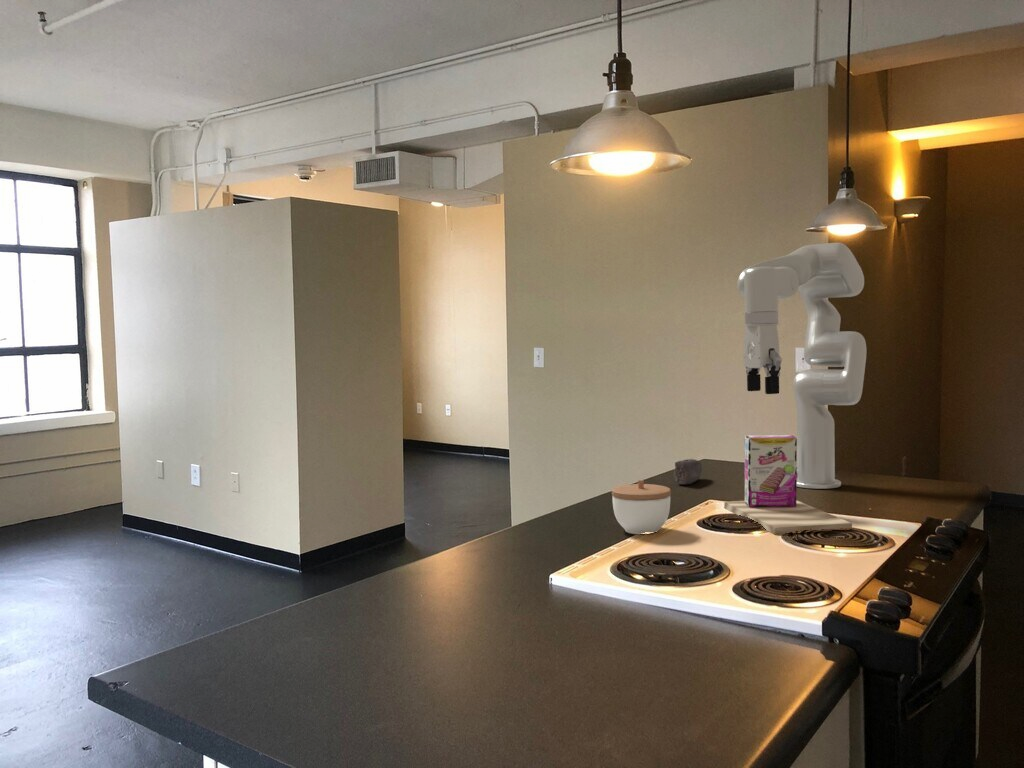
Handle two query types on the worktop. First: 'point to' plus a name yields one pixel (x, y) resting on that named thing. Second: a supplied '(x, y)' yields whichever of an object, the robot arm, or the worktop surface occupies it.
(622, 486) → the lidded bowl
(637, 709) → the worktop surface
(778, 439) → the candy bar box
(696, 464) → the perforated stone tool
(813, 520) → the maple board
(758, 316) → the robot arm
